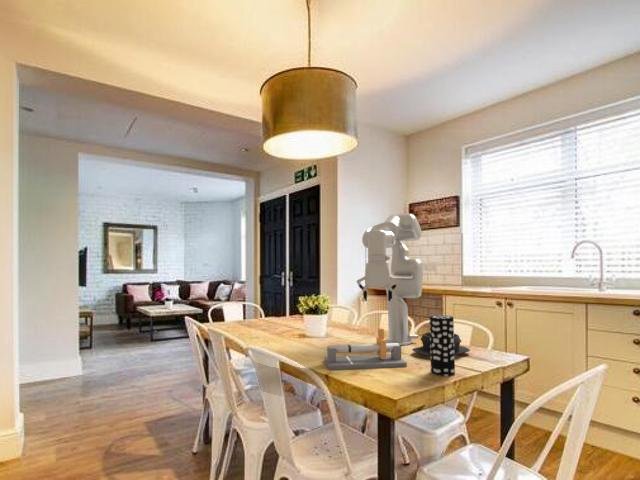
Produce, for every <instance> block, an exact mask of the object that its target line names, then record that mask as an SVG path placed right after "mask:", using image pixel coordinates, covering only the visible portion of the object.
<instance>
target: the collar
mask: <svg viewBox="0 0 640 480" xmlns="http://www.w3.org/2000/svg"><path fill="white" fill-rule="evenodd" d="M376 344H380V351H379V352H376V355H378V356H379V357H380V358H381V359H385V358H386V354H387V351H386V339H385V329H384V328H383V327H378V328H377V336H376Z"/></svg>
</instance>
